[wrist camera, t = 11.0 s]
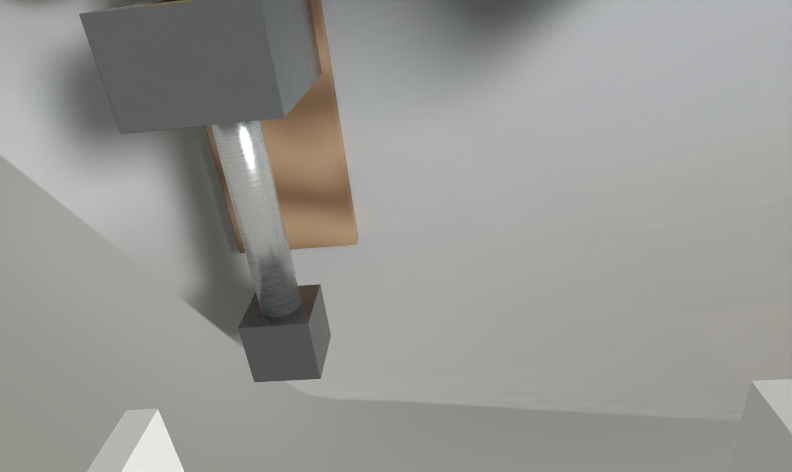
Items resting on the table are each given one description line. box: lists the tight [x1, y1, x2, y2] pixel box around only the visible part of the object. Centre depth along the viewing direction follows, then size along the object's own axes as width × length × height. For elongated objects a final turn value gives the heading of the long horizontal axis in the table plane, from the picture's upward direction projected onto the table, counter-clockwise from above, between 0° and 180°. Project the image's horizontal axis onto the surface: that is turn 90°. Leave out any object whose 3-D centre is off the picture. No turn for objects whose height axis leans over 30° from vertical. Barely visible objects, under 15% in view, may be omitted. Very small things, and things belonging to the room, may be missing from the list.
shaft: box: [211, 120, 331, 382], centre depth 37 cm, size 25×5×5 cm, turn 6°
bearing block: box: [79, 0, 322, 134], centre depth 33 cm, size 6×9×12 cm, turn 96°
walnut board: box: [205, 0, 358, 253], centre depth 40 cm, size 26×10×1 cm, turn 6°
